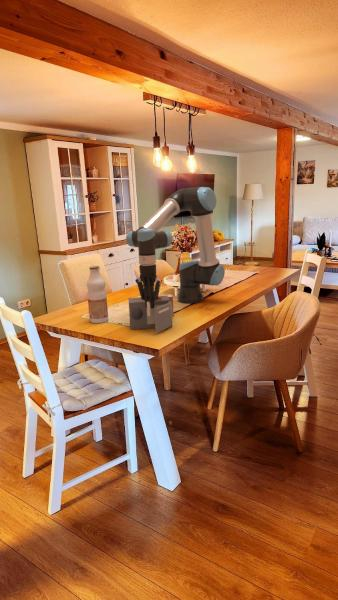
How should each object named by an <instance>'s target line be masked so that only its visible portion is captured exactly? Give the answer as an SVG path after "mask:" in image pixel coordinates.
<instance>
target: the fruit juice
mask: <svg viewBox="0 0 338 600" xmlns="http://www.w3.org/2000/svg"><path fill="white" fill-rule="evenodd" d="M100 269H101V268H100V266H99V265H91V266H89V278H88V280H87V282H86V288H87V290H88V291H87V294H86V295H87V305H88V315H89V316H88V317H89V322H90V323H92V324H101V323H102V324H103V323H106V322H108V321H109V310H108V300H107V299H108V298H107V296H108V295H107V291H106V289H105V288H106V282H105V279H103V277H102V275H101V272H100Z"/></svg>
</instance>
